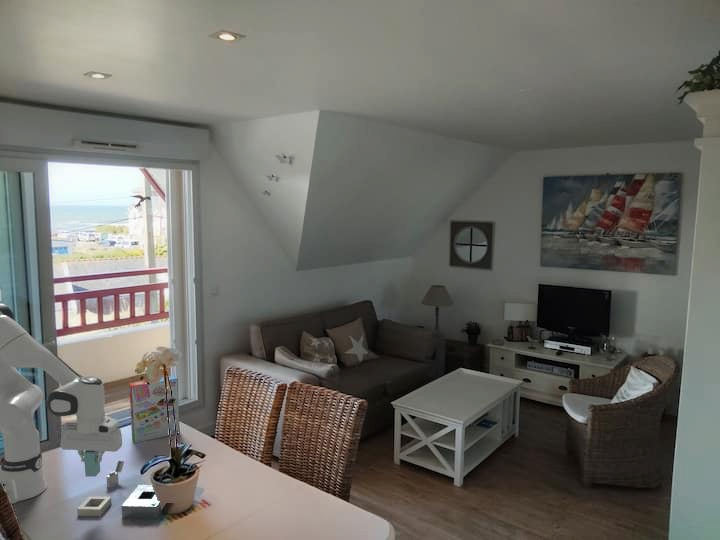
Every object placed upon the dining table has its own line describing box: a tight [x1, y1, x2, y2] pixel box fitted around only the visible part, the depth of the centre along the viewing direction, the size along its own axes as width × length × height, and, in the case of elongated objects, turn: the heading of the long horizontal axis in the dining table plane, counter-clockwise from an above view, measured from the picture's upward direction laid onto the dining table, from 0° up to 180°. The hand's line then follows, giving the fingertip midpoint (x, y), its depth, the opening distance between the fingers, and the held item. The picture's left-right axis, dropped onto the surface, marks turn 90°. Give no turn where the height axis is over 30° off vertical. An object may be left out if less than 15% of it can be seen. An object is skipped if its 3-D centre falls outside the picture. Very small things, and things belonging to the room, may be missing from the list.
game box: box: [128, 375, 181, 444], centre depth 245 cm, size 21×6×27 cm, turn 123°
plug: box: [83, 450, 101, 478], centre depth 185 cm, size 4×4×10 cm
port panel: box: [121, 484, 162, 520], centre depth 188 cm, size 12×14×5 cm
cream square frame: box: [76, 495, 112, 517], centre depth 187 cm, size 8×8×2 cm
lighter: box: [106, 460, 125, 489], centre depth 204 cm, size 7×2×8 cm, turn 156°
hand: (91, 461), depth 185 cm, fingers closed on plug, 4 cm apart
